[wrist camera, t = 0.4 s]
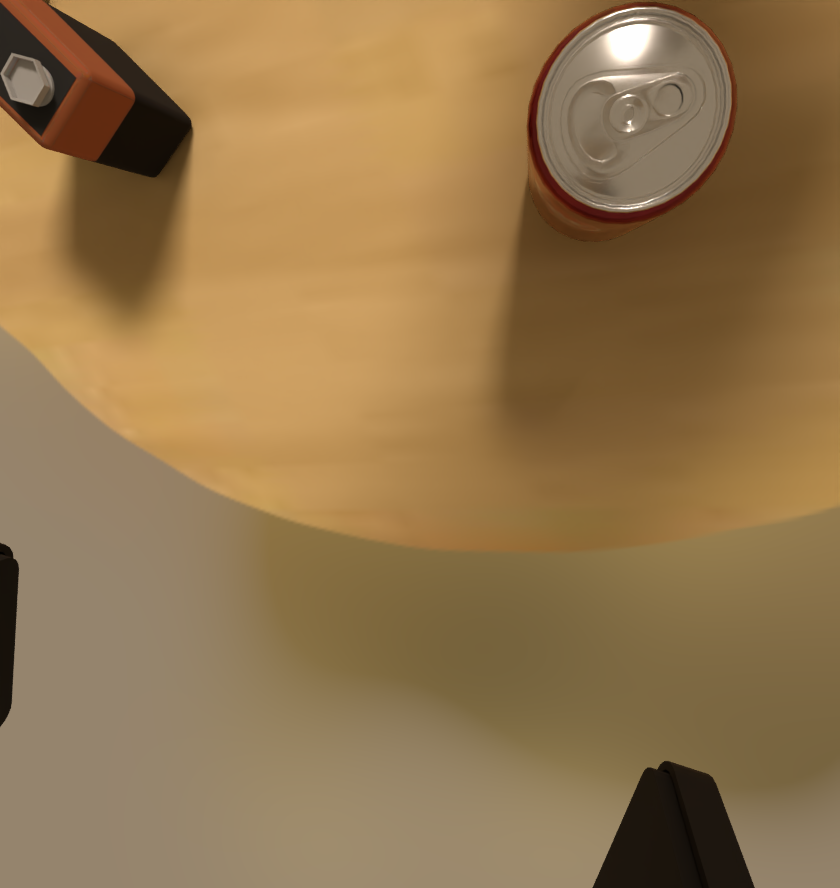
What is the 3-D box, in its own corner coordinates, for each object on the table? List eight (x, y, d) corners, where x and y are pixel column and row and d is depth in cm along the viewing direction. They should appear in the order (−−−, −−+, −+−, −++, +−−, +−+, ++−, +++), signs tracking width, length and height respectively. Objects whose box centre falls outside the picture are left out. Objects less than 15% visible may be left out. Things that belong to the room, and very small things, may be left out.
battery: (157, 182, 37) (28, 149, 28) (74, 100, 37) (-85, 37, 27) (198, 123, 36) (77, 66, 26) (113, 38, 35) (-41, -51, 26)
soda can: (541, 257, 34) (547, 245, 23) (516, 120, 33) (508, 34, 21) (677, 223, 33) (755, 191, 21) (657, 77, 31) (729, -41, 20)
